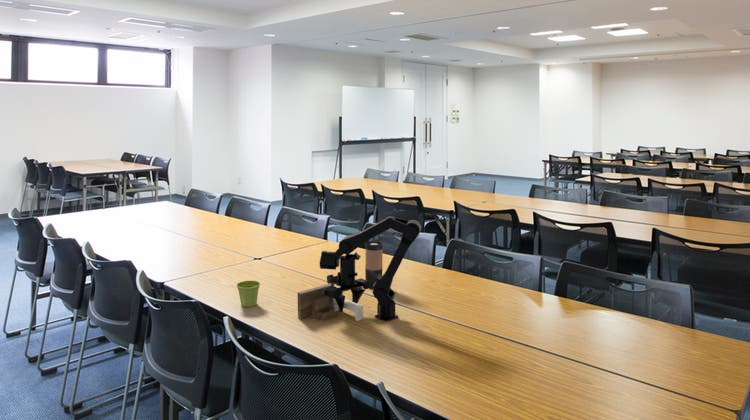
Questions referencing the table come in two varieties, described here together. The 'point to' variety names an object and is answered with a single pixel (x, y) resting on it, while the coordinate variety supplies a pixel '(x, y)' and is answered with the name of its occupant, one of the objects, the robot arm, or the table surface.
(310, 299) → the brown wooden block
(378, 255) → the travel mug
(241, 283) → the plant pot
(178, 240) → the table surface
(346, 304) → the bed rail
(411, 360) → the table surface
